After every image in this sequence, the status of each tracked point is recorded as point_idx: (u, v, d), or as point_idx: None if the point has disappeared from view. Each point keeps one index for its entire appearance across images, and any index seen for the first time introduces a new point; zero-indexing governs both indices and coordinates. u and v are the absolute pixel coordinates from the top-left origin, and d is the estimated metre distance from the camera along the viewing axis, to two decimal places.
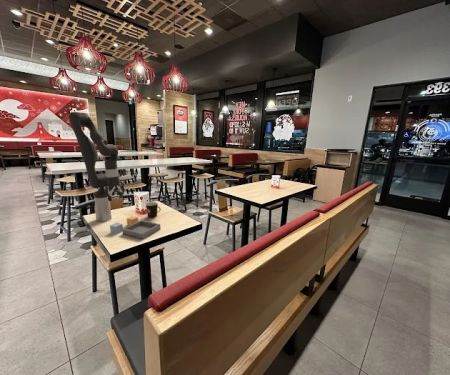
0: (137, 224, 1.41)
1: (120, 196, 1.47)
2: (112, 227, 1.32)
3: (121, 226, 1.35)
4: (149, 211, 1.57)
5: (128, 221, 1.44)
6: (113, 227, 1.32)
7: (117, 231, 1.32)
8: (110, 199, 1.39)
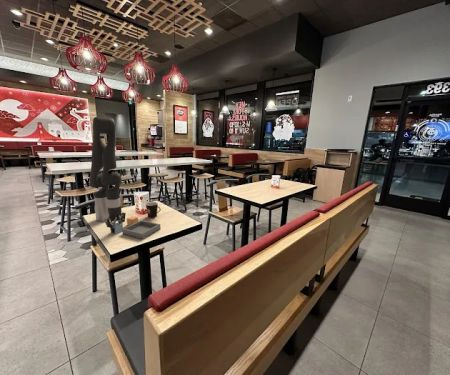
0: (137, 224, 1.41)
1: None
2: None
3: (121, 226, 1.35)
4: (149, 211, 1.57)
5: (128, 221, 1.44)
6: None
7: (117, 231, 1.32)
8: (113, 231, 1.31)
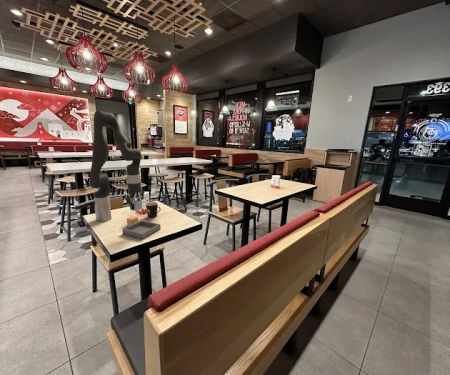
0: (137, 224, 1.41)
1: None
2: None
3: (140, 203, 1.34)
4: (149, 211, 1.57)
5: (128, 221, 1.44)
6: None
7: (137, 208, 1.31)
8: (133, 207, 1.30)
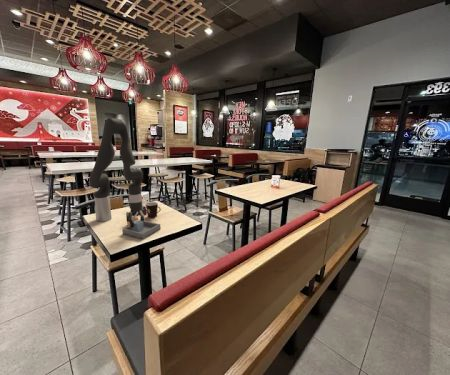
0: None
1: None
2: None
3: (142, 224, 1.37)
4: (149, 211, 1.57)
5: None
6: (135, 224, 1.34)
7: (138, 228, 1.34)
8: (132, 225, 1.32)
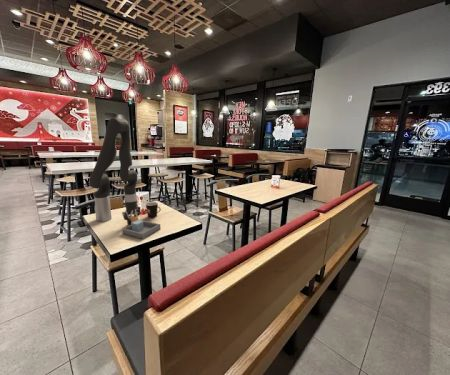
0: None
1: None
2: (133, 225, 1.34)
3: (142, 224, 1.37)
4: (149, 211, 1.57)
5: None
6: (135, 224, 1.34)
7: (138, 228, 1.34)
8: (130, 223, 1.43)
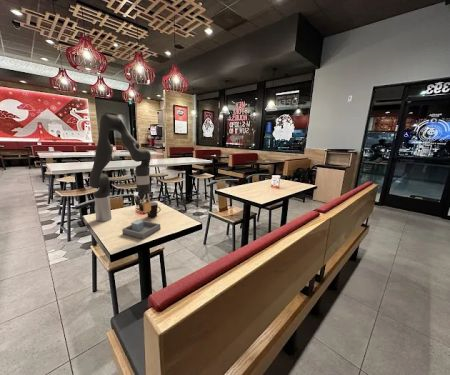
0: None
1: None
2: (133, 225, 1.34)
3: (142, 224, 1.37)
4: (149, 211, 1.57)
5: None
6: (135, 224, 1.34)
7: (138, 228, 1.34)
8: (142, 209, 1.28)
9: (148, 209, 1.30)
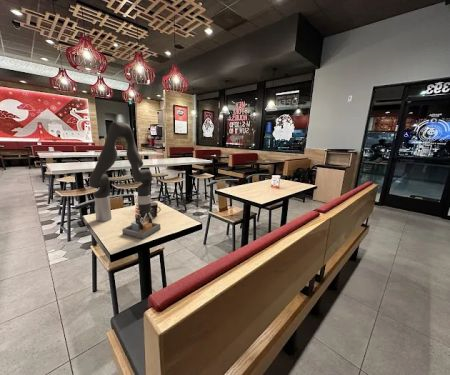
0: None
1: None
2: (133, 225, 1.34)
3: None
4: None
5: None
6: (135, 224, 1.34)
7: (138, 228, 1.34)
8: (142, 227, 1.29)
9: None
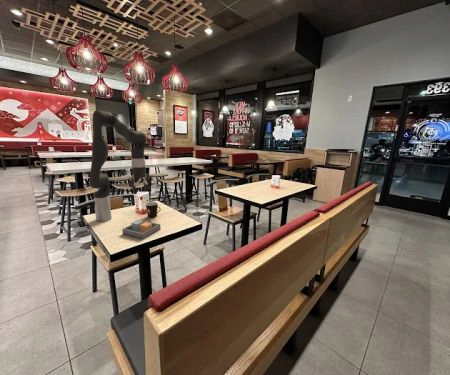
0: None
1: (145, 189, 1.33)
2: (133, 225, 1.34)
3: None
4: (149, 211, 1.57)
5: (141, 228, 1.32)
6: (135, 224, 1.34)
7: (138, 228, 1.34)
8: (135, 192, 1.25)
9: None
